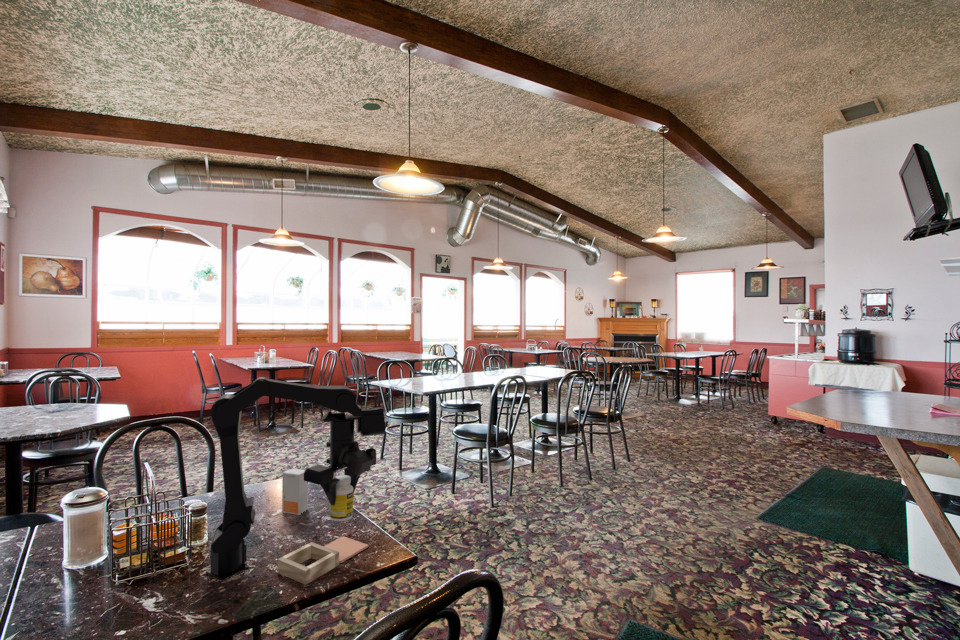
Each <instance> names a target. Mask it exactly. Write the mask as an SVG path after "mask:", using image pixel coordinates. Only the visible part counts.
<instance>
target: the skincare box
mask: <svg viewBox="0 0 960 640" xmlns="http://www.w3.org/2000/svg"><path fill="white" fill-rule="evenodd" d="M305 470H306V469H301V468H289V469H287V470H285V471H283V472H282V482H281V483H282V484H281V485H282V486H281V487H282V489H281V490H282V491H281V492H282V493H281V496H282V497H281V502H282V503H281V504H282V505H281V506H282V507H281V509H282V510H281V511H282V513H283V514H289V515H290V514H291V515H296V516H301V515H302V514H303V512H304V511H305V512H307V511H308V510H309V505H308V504H309V501H308V500H309V482H307V481H304V471H305ZM307 509H308V510H307ZM306 510H307V511H306ZM305 512H304V513H305ZM301 513H302V514H301Z"/></svg>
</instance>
